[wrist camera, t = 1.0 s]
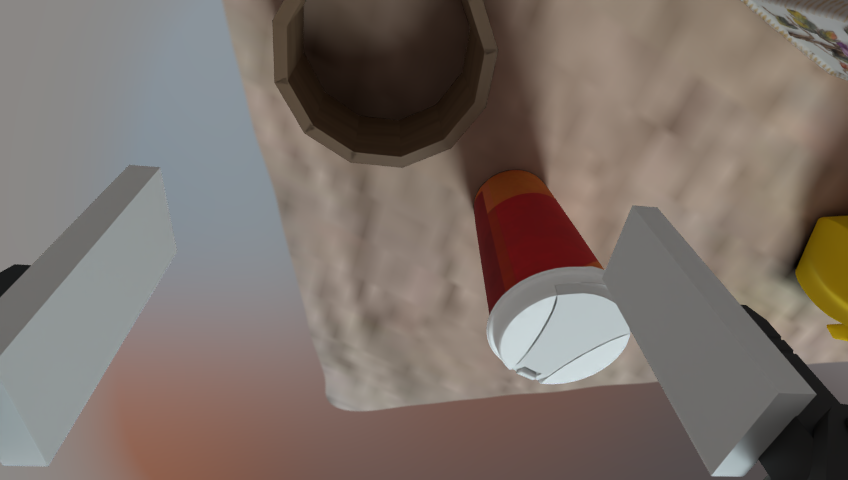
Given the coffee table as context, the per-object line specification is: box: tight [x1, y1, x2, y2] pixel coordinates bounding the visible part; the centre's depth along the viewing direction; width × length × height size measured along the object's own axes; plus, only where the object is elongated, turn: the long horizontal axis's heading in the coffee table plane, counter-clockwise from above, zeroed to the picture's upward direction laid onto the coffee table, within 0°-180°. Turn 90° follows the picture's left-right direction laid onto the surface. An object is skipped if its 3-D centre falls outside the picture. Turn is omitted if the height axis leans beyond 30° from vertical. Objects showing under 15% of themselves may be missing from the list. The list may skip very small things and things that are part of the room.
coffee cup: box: [474, 170, 630, 384], centre depth 33 cm, size 8×8×15 cm
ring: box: [272, 0, 498, 168], centre depth 29 cm, size 12×12×6 cm
